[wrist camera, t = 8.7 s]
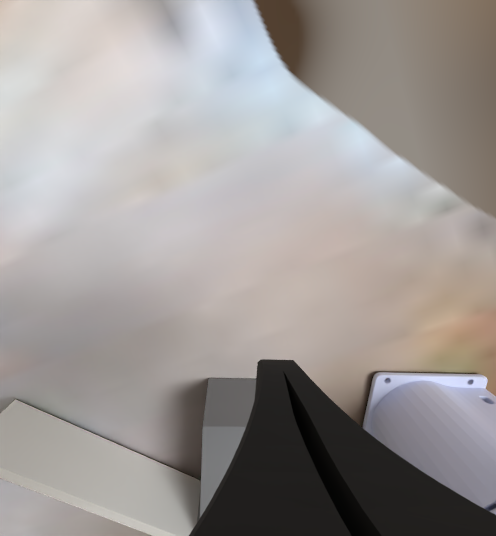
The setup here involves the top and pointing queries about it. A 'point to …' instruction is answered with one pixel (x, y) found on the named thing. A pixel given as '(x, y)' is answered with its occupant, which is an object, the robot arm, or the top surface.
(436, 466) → the robot arm
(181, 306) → the top surface
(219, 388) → the block
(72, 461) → the door
